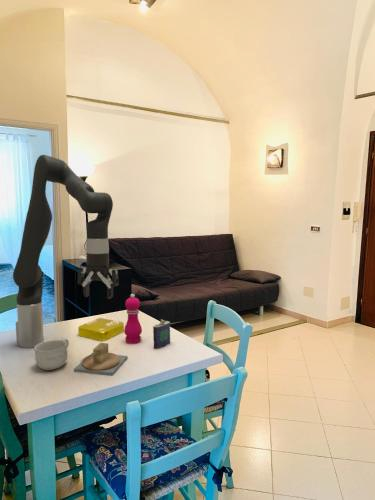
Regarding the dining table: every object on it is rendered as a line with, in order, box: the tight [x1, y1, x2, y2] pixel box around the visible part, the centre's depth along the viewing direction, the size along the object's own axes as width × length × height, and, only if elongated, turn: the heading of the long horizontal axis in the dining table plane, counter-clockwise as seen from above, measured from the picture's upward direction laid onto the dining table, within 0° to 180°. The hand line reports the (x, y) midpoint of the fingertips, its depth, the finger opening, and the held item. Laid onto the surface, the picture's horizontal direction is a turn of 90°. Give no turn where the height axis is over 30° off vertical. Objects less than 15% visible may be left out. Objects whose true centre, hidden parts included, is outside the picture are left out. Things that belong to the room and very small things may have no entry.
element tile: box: [77, 317, 125, 342], centre depth 163 cm, size 15×15×5 cm
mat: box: [73, 352, 129, 377], centre depth 132 cm, size 14×14×1 cm
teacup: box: [33, 338, 69, 371], centre depth 131 cm, size 14×11×8 cm
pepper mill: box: [123, 293, 143, 345], centre depth 153 cm, size 7×7×20 cm
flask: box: [152, 319, 171, 350], centre depth 149 cm, size 9×3×11 cm, turn 144°
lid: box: [81, 342, 120, 371], centre depth 131 cm, size 13×13×6 cm
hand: (98, 297), depth 129 cm, fingers open, 8 cm apart
